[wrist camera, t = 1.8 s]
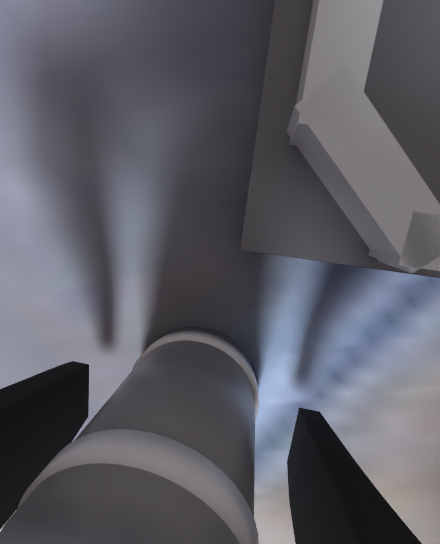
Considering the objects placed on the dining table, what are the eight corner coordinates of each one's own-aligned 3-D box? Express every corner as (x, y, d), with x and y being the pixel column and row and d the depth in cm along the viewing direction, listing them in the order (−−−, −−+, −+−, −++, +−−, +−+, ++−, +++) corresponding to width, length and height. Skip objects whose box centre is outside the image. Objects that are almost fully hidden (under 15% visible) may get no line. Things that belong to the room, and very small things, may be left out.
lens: (267, 336, 9) (284, 537, 3) (248, 443, 10) (236, 739, 4) (144, 315, 10) (-23, 457, 4) (138, 418, 11) (-4, 655, 5)
